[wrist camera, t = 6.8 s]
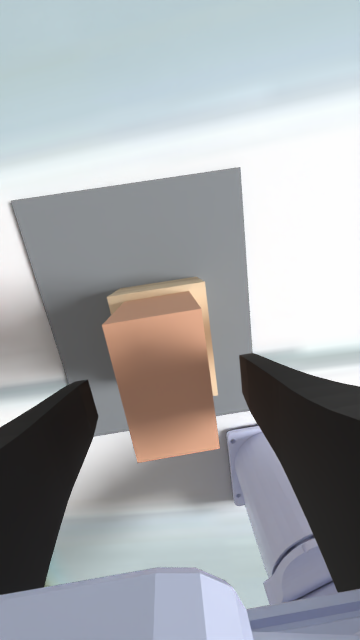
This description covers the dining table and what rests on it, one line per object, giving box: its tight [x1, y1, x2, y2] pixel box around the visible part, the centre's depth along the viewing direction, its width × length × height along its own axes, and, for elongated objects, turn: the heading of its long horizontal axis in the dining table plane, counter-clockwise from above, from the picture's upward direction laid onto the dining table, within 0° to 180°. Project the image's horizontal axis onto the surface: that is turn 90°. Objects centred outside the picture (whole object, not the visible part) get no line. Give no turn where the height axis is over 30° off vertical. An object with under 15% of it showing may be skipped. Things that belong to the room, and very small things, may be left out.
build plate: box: [11, 167, 252, 437], centre depth 19 cm, size 20×16×1 cm
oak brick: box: [107, 277, 218, 396], centre depth 17 cm, size 8×6×4 cm
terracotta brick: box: [102, 291, 220, 463], centre depth 12 cm, size 7×4×5 cm, turn 9°
